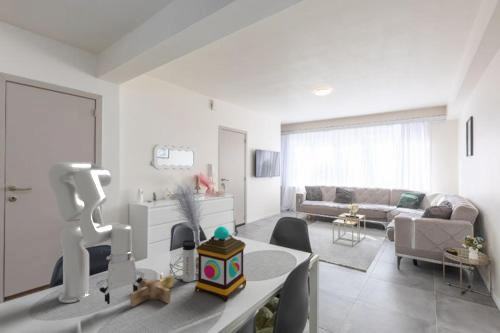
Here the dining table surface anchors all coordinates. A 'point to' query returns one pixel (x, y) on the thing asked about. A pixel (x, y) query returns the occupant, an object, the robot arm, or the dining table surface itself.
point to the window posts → (162, 276)
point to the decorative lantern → (220, 264)
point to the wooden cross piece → (152, 290)
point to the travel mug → (189, 261)
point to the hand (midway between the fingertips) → (121, 298)
